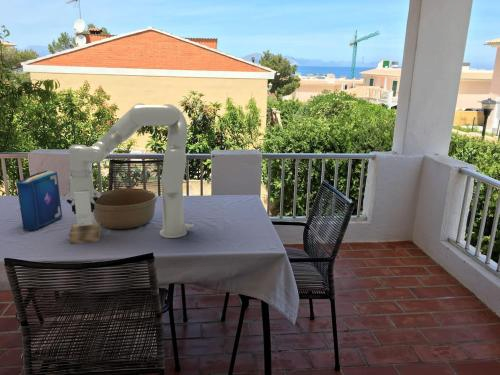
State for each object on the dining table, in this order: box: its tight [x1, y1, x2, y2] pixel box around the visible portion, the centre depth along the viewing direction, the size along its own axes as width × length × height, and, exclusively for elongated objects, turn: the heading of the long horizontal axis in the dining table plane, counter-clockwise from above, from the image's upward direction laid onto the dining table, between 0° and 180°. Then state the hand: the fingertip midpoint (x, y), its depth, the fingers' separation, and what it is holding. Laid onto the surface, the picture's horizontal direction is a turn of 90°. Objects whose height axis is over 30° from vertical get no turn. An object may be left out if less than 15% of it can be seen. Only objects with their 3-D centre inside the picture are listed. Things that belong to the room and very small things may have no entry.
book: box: [15, 170, 63, 232], centre depth 198 cm, size 22×7×25 cm, turn 168°
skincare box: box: [74, 191, 93, 226], centre depth 182 cm, size 8×7×16 cm
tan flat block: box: [68, 222, 101, 245], centre depth 186 cm, size 12×12×5 cm
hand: (83, 211), depth 183 cm, fingers closed on skincare box, 6 cm apart
